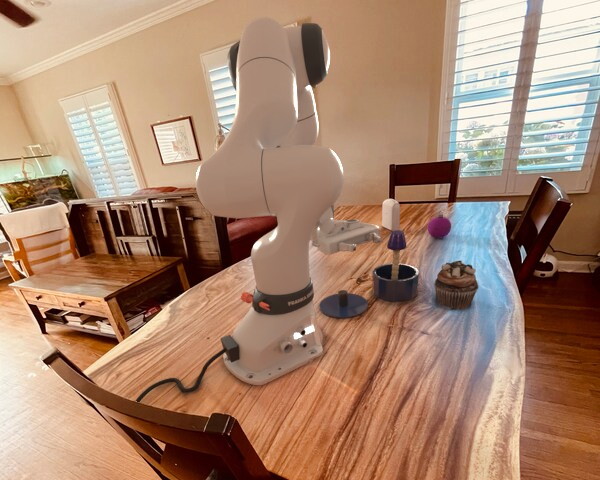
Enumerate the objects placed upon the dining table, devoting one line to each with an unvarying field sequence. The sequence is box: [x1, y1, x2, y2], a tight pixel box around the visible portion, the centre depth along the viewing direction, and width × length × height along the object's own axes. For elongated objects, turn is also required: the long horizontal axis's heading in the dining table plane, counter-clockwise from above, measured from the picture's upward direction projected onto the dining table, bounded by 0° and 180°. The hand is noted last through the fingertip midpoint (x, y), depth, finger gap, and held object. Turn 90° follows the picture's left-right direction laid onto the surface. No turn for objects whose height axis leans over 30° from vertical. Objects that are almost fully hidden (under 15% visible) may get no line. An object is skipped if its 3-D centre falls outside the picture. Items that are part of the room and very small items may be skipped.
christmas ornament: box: [427, 211, 452, 239], centre depth 118 cm, size 8×8×10 cm
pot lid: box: [318, 289, 369, 320], centre depth 79 cm, size 12×12×5 cm
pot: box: [371, 263, 420, 303], centre depth 83 cm, size 11×11×6 cm
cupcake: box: [434, 260, 480, 311], centre depth 75 cm, size 10×10×10 cm
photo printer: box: [381, 198, 401, 232], centre depth 135 cm, size 10×4×12 cm, turn 13°
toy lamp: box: [386, 229, 407, 280], centre depth 80 cm, size 5×5×17 cm
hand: (366, 244), depth 87 cm, fingers open, 8 cm apart
